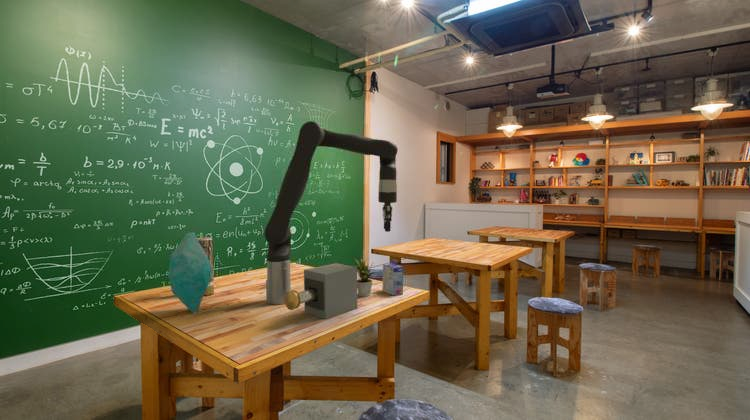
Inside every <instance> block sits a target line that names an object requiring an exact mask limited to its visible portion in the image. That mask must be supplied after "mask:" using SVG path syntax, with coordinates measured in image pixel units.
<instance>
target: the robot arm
mask: <svg viewBox="0 0 750 420" xmlns="http://www.w3.org/2000/svg"><path fill="white" fill-rule="evenodd" d="M297 137H298V138H297V140H296V141H297V142H296V145H295V148H294V152H293V155H292V157H291V159H290V161H289V164H288V166H287V169H286V172H285V174H284V177H283V179H282V183H281V186H280V189H279V192H278V194H277V200H276V201H275V202H276V203H275V206H274V209H273V211H272V213H271V215H270V218H269V220H268V221H267V224H266V226H265V229H264V231H263V232H264V239H265V241H267V243H268V249H267V253H266V270H267V271H266V273H267V274H266V280H265V289H266V291H265V292H266V293H265V295H266V304H270V305H285V301H284V296H285V293H286V292H287V291H291V289H292V287H291V284H292V283H291V280H292V279H291V251H292V231H291V226H290V223H291V219H292V216H293V214H294V211H295V210H296V208H297V206H298V204H299V203H300V202H301V199H302V197H303V195H304V192H305V190H306V187H307V185H308V181H309V176H310V172H311V165H312V160H313V157H314V154H315V153H316V149H317V148H318V147H322V148H323V147H324V148H334V149H339V150H344V151H348V152H351V153H356V154H360V155H364V156H376V157H378V158H379V175H378V177H379V178H378V179H379V180H378V197H377V198H378V200H377V201H378V203H384V204H383V206H381V207H382V217H383V218H382V219H383V229H384V232H385V233H386V232H391V228H392V227H391V223H392V218H393V207H392V204H394V203H395V204H396V203H397V199H398V198H397V196H398V195H397V193H398V183H397V167H396V159H397V157H396V156H397V155H398V151H399V150H398V149H399V148H398V146H397V144H396V143H394V142H393V141H390V140H387V139H386V140H385V139H378V138H372V137H367V136H363V135H357V134H351V133H341V132H334V131H331V130H328V129H325V128H323V127H322V126H321V125H320V124H319V123H318V122H316V121H313V120H310V121H307V122H305V123H303V124H302V125H301V127H300V129H299V132H298V136H297Z"/></svg>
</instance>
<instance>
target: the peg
mask: <svg viewBox="0 0 750 420" xmlns="http://www.w3.org/2000/svg"><path fill="white" fill-rule="evenodd" d="M315 299H317V289H316V288H313V289H309V290H305V291H304V290H301V291H299V292H298V291H297V290H295V289H293V290H291V291H287V292H286V293H285V296H284V301H285V304H284V306H285V307H286V308H287V309H288V310H289V311H293V310H296V309H298V308H299V307H300V305H301V304H305V302H308V301H312V300H315Z"/></svg>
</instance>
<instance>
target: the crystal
mask: <svg viewBox="0 0 750 420" xmlns="http://www.w3.org/2000/svg"><path fill="white" fill-rule="evenodd" d="M197 238H198V237H197V235H196V233H195V232H187V233H186V234H185V236H184V237H183V239H182V240H181V241H180V242H179V244H178V246H177V247H176V249H174V251H172V253H171V255H170V259H169V267H168V272H167V274H168V275H167V277H168V280H169V285H170V288H171V293H172V294H173V296H175V297H176V298H177V299H178V300H179V301H180V302H181V303H182V304H184V306H185V307H186V308H187V309H188V310H189V312H191V311H192V312H191V313H193V312H195V313H198V312H199V308H200V307H201V303H202V301H203V299H204V297H205V296H204V293H205V291H206V289H207V287H208V284H209V282H210V277H211V266H210V262H209V259H208V258H207V256H206V254H205V252H204V251H203V249H202V247H201V245H200V244H199V242H198V240H197ZM197 311H198V312H197Z"/></svg>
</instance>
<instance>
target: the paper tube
mask: <svg viewBox="0 0 750 420" xmlns="http://www.w3.org/2000/svg"><path fill="white" fill-rule="evenodd" d="M197 240H198V242H199V244H200V245H201V247H202V249H203V251H204V252H205V254H206V256H207V258H208V259H209V262H210V266H211V277H210V282H209V284H208V287H207V289H206V291H205V293H204V295H208V296H211V295H213V294H214V293H215V278H214V253H213V252H214V251H213V247H214V246H213V237H209V236H208V237H197ZM210 294H211V295H210Z"/></svg>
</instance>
